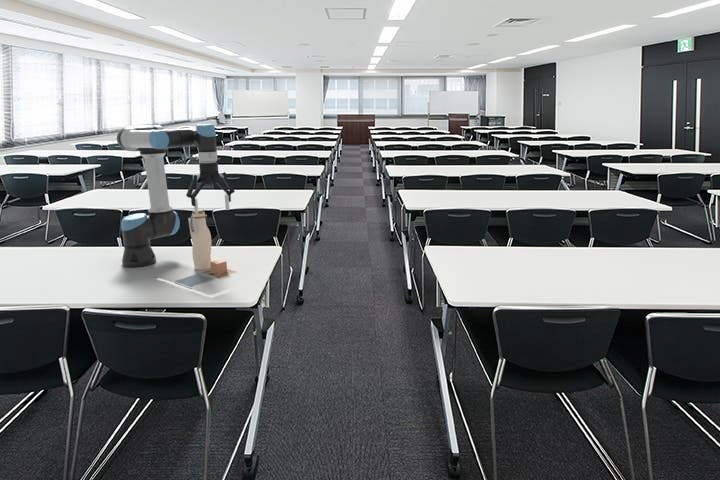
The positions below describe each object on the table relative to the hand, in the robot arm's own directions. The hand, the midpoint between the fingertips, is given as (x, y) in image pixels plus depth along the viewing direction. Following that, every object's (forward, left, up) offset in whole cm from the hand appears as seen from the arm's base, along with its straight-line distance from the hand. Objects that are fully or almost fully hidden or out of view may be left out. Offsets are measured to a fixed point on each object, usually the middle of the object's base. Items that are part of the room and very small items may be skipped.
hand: (212, 211), depth 224 cm
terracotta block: (-2, +2, -29) cm, 29 cm away
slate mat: (-2, -11, -30) cm, 32 cm away
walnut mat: (-2, +2, -30) cm, 30 cm away
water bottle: (-14, +2, -30) cm, 33 cm away
